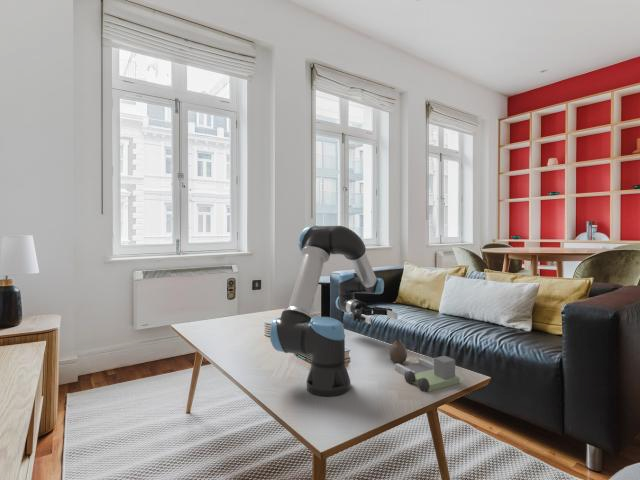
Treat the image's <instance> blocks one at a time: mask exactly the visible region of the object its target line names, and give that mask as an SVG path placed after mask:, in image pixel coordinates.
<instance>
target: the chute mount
mask: <svg viewBox="0 0 640 480" xmlns="http://www.w3.org/2000/svg"><path fill="white" fill-rule="evenodd" d="M432 369H434V362H431V361H429V360H427V359H425V358H421V357H420V358H418V362H416V363H415V362H414V363H410V364H406V365H403V364H398V363H397V364H395V363H394V371H395V372H397V373H398V374H401V375H402V376H404V374H405V372H407V371H412V372H413V373H414V374H416V373H420V372H424V371H428V370H432Z"/></svg>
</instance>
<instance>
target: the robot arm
mask: <svg viewBox="0 0 640 480" xmlns="http://www.w3.org/2000/svg"><path fill="white" fill-rule="evenodd" d="M298 240H299V241H298V242H299V243H298V246H299V250H300V252H301V255H302V256H303V258H302V262H301V264H300V268H299V270H298V273H297V274H298V275H297V277H296V281H295V284H294V287H293V291H292V294H291V297H290V300H289V303H288V307H287V308H286V309H283V310H282V312H281V316H280V317H275V319H273V320H272V322H271V324H270V328H269V329H270V330H269V338H270V343H271V346H272V347H273V348H274V350H276V351H277V352H282V353H284V354H296V355H303V356H310V368H309V370H308V375H307V378H306V390H307V391H308V392H309V393H311V394H313V395H316V396H321V397H334V396H335V397H336V396H340V395H341V396H342V395H343V394H345V393H347V392H349V390H351V378H350V376H349V373H348V369H347V367H346V362H345V361H346V349H345V348H346V346H345V345H346V342H345V341H346V334H345V326H344V323H343V322H341V321H340V320H339V319H336V318H333V317H330V316H314V317H312V316H311V312H312V308H313V305H314V302H315V297H316V293H317V291H318V288H319V287H318V286H319V283H320V279H321V276H322V272H323V269H324V264H325V263H327V262H329V260H330V257H331V255H341V256H344V257H345V258H346V260H348V261H349V263H350V264H351V266H352V268H353V270H354V272H355V273H353V272H341V273H339V275H338V297H337V298H336V300H335V307H336V308H337V309H338V310H340V311H341V312H342V313H343V312H344V313H346V314H349V315H350V316H351V317H352V320H353V322H354V321H357V322H358V323H361V322H364V323H365V324H368V325H372V317H371V316H375V315H377V316H386V317H387V318H391V319H394V320H398V313H397V312H395V311H393V309H392V308H390V307H379V306H376V305H374V306H371V307H370V306H368V305H367V303H366V302H364V301H361V300H359V299H356V298H355V293H356V294H370V295H371V294H372V295H381V294H383V293H384V288H385V282H384V279H383V278H379V277H377V276H376V274H375V272H374V270H373V267H372V265H371V263H370V260H369V258H368V256H367V253H366V249H367V248H366V245H365V243H364V241H363V239H362V238H361V237H360V236H359V235H358V234H357V233H356V232H355V231H353V230H352V229H350V228H348V227H346V226H343V225H323V226H322V225H313V226H311V225H310V226H307V227H305V228H304V229H303V230H302V231H301V232H300V236H299V239H298ZM355 274H356V275H357V276H355Z"/></svg>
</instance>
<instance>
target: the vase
mask: <svg viewBox="0 0 640 480" xmlns="http://www.w3.org/2000/svg"><path fill="white" fill-rule="evenodd" d="M389 358H390V360H391V362H392V363H394V365H395V364H397V363H398V364H400V365H403V364H404V363H406V360H407V358H408V350H407V347H406V346H405V345H404V343H403V342H402V340H400V339H396V340H394V342H393V344H392V345H391V346H390V348H389Z"/></svg>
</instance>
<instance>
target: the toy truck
mask: <svg viewBox="0 0 640 480" xmlns="http://www.w3.org/2000/svg"><path fill="white" fill-rule="evenodd" d="M433 363H434V369H432V370H428V371H424V372H420V373H416V374H414V373H413V372H412V371H407V372H405V374H404V375H403V376H404V380H405V382H406V383H407V384H414V385H416V386H417V387H418V388H419V390H420V391H421V392H426V391H427V392H432V391H435V390H439V389H442V388H447V387H449V386H453V385H457V383H458V384H461V383H460V382H461V381H460V380H461V378H460V377H459V376H457V375H456V359H454V358H453V357H452V358H451V357H449V356H446V355H442V356H436V357H434V358H433Z"/></svg>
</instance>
